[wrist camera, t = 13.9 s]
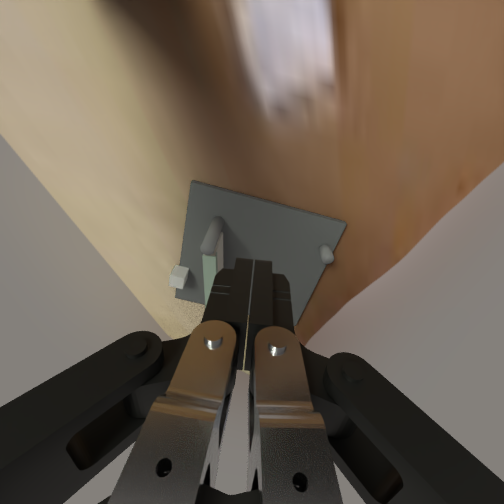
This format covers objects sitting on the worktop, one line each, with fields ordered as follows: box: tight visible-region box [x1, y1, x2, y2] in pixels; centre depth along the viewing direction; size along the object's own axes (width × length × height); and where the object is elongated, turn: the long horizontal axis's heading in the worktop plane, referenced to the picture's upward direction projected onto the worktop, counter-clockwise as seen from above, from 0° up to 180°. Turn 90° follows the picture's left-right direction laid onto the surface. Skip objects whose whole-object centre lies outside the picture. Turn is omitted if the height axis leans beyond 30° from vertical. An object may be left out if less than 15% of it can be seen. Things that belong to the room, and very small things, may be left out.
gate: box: [202, 232, 223, 308], centre depth 42 cm, size 15×2×7 cm, turn 177°
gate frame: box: [169, 180, 347, 326], centre depth 42 cm, size 25×23×10 cm
